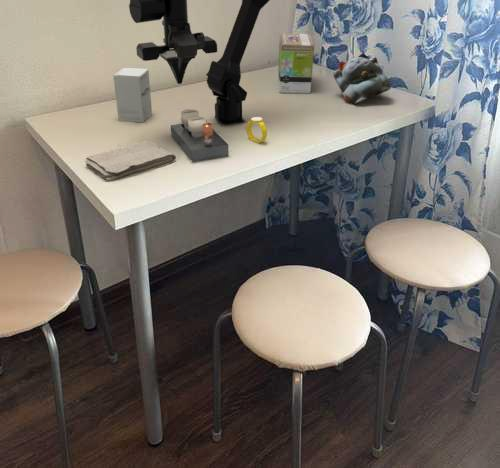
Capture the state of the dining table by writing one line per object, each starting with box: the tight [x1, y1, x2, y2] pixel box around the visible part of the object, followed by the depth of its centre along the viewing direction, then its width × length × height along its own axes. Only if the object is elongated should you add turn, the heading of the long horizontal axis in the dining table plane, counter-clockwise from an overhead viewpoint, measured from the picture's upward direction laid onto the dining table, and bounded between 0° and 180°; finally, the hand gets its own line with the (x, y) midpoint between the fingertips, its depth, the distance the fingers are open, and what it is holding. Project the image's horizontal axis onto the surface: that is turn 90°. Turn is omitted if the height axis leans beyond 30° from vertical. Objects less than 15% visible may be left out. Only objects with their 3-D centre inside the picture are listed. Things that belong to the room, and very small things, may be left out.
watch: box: [246, 116, 268, 144], centre depth 144 cm, size 6×3×6 cm, turn 43°
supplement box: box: [113, 67, 153, 123], centre depth 156 cm, size 7×7×13 cm
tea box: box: [277, 33, 315, 94], centre depth 180 cm, size 15×10×15 cm
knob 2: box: [188, 115, 207, 138], centre depth 141 cm, size 4×4×6 cm
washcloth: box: [85, 140, 177, 182], centre depth 133 cm, size 12×18×3 cm, turn 131°
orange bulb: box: [202, 122, 214, 146], centre depth 134 cm, size 2×2×5 cm
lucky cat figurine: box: [332, 53, 392, 106], centre depth 171 cm, size 15×12×14 cm
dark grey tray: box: [170, 123, 230, 163], centre depth 142 cm, size 9×17×3 cm, turn 23°
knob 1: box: [180, 108, 200, 130], centre depth 145 cm, size 4×4×6 cm
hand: (179, 83), depth 143 cm, fingers closed
